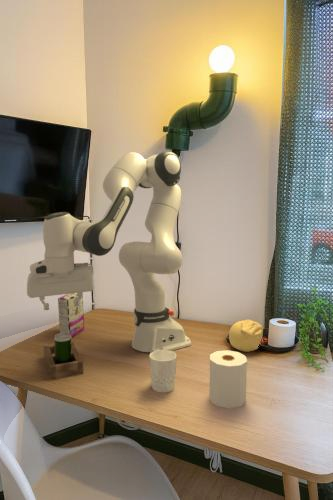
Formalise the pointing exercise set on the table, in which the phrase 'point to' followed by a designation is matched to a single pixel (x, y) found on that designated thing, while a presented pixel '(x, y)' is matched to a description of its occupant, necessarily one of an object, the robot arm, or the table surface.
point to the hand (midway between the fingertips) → (61, 307)
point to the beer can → (63, 348)
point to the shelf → (63, 368)
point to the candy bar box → (70, 314)
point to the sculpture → (246, 335)
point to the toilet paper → (228, 378)
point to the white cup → (163, 370)
